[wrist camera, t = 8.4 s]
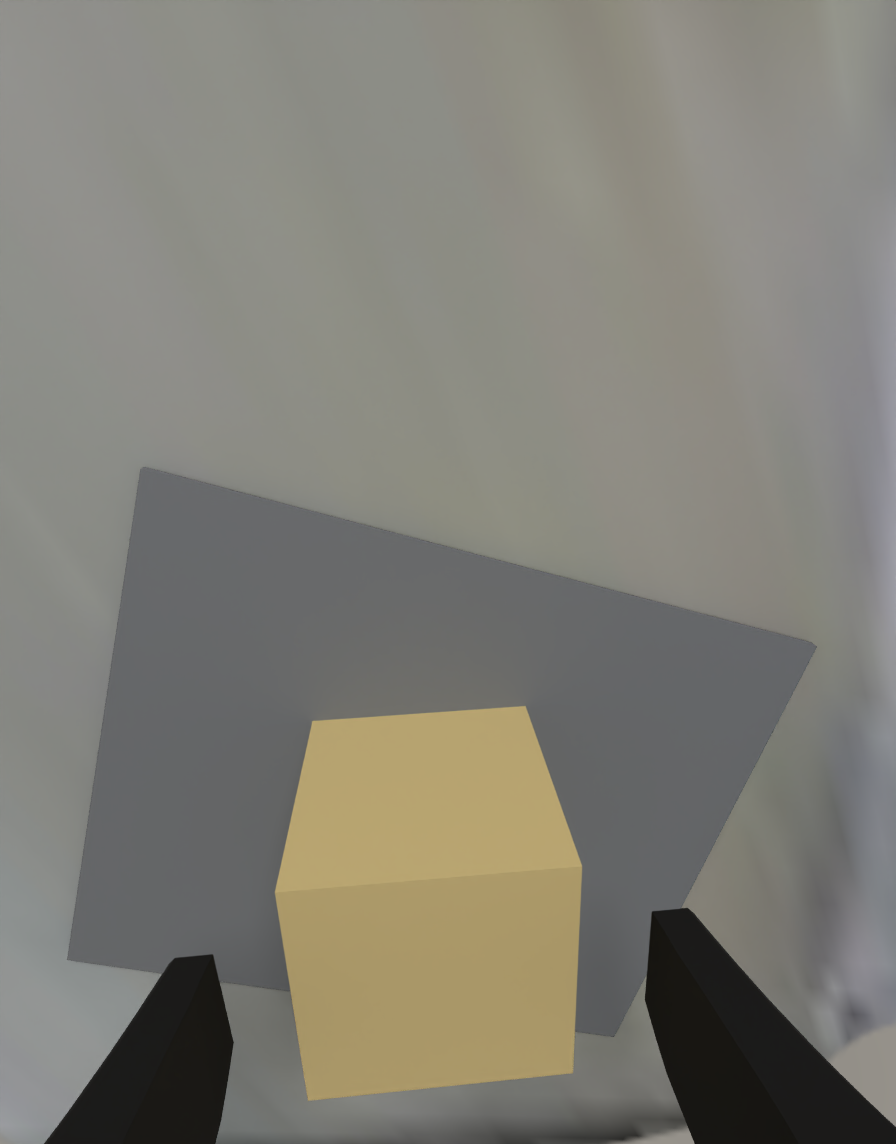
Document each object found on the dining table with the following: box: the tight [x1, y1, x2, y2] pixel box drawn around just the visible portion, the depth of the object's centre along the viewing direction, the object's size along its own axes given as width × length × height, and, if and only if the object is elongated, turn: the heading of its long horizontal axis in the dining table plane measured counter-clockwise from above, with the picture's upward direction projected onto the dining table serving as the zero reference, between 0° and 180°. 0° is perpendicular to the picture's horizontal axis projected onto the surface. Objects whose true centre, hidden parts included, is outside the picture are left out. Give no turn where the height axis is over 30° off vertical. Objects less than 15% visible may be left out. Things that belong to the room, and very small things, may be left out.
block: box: [275, 706, 582, 1101], centre depth 12 cm, size 4×4×4 cm
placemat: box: [67, 467, 817, 1037], centre depth 15 cm, size 14×12×1 cm
